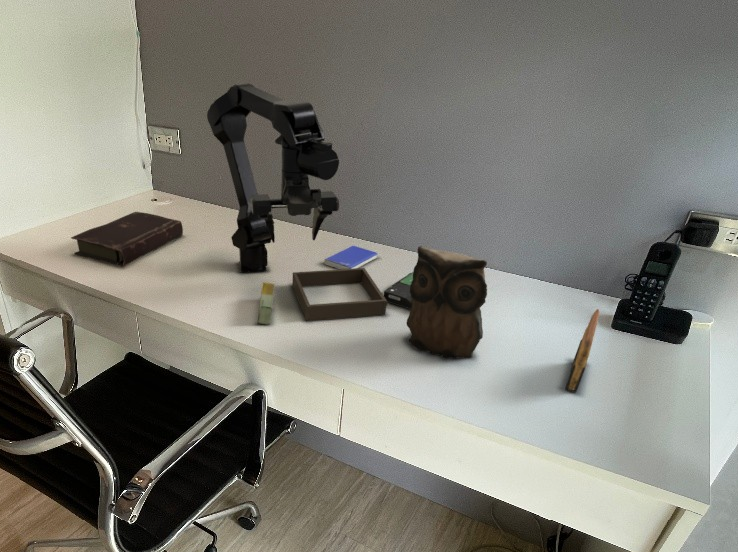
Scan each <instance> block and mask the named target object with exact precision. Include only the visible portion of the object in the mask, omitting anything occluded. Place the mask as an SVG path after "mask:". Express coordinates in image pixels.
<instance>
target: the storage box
mask: <svg viewBox="0 0 738 552" xmlns="http://www.w3.org/2000/svg"><path fill="white" fill-rule="evenodd" d="M291 281H292V283H291V285H292V288H293V291H294V293H295V296H296V298H297V301H298V303H299V305H300V308H301V310H302V314H303V316H304V318H305V320H306V322H309V321H310V322H311V321H324V320H338V319H351V318H364V317H378V316H386V313H387V312H386V311H387V306H388V305H387V304H388V301H387V300H386V299H385V297H384V293H383V292H382V291H381V290H380V288H379V287H378V285H377V284H376V283H375V281H374V279H373V278H372V276H370V274H369V272H368V271H367V270H366V268H365V267H359V268H355V269H326V270H325V269H324V270H311V271H294V272H292V280H291ZM345 284H346V285H347V284H361V285H362V287H363V288H364V289H365V291H366V293H367V294H368V296H369V298H370V299H369V300H356V301H343V302H342V301H341V302H332V303H331V302H327V303H316V304H315V303H314V304H310V302H309V299H308V296H307V294H306V292H305V290H304V288H303V287H315V286H331V285H345Z"/></svg>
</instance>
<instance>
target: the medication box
mask: <svg viewBox="0 0 738 552" xmlns="http://www.w3.org/2000/svg"><path fill="white" fill-rule="evenodd" d="M274 288H275V283H270V282H262V286H261V293H260V301H259V308H258V309H259V310H258V316H257V324H259V325H270V323H271V316H272V311H273V309H272V308H273V299H274V290H275V289H274Z"/></svg>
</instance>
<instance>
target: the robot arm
mask: <svg viewBox="0 0 738 552" xmlns="http://www.w3.org/2000/svg"><path fill="white" fill-rule="evenodd" d="M251 112H252V113H253V114H256V115H258V116H259V117H262V118H263V119H265V120H268V121H269V122H270V123H271V126H272V128H273V129H274V130H275V131H276V132H277V133H279V134H280V135H279V136H278V137H277V138H276V139H275V140H274V143H275V144H276V145H280V146H281V160H280V161H281V165H280V167H281V168H280V169H281V171H280V178H281V179H280V181H281V182H280V198H270V195H269V194H268V193H264V194H263V193H262V194H260V193H259V192H258V189H257V187H256V182H255V179H254V178H255V177H254V174H253V171H252V166H251V163H250V159H249V155H248V150H247V147H246V144H245V143H246V142H245V135H246V132H247V127H248V123H247V117H248V116H249V115H250V114H251ZM206 119H207V122H208V124H209V126H210V129H211V132H212V134H213V136H214V137H215V139H216V140H217V141H218V142H219V143H220V144H221V145H222V146H223V149H224V153H225V158H226V160H227V164H228V168H229V172H230V175H231V180H232V184H233V187H234V189H235V195H236V198H237V202H238V206H239V209H238V213H237V218H236V224H237V229H236V230H235V232H234V233H233V234H232V235H231V236H230V237H231V242H232V246H233V247H235V248H237V249H238V252H239V253H238V255H239V257H238V258H239V261H238V266H239V270H240V273H242V274H244V273H257V272H258V273H260V272H267V271H268V269H267V267H268V249H267V247H266V245H267V244H271V243H274V244H275V242H276V241H275V240H276V235H275V221H274V216H273V213H272V209H284V208H285V209H286V208H287V213H288V215H289V216H291V217H296V216H310V215H312V209H313V217H312V227H311V228H312V229H311V239H312V241H315V240H316V238H317V236H318V234H319V231H320V228H321V226H322V224H323V223H324V221H325V219H326V218H327V217H328V216H332V215H333V213H334V212H338V211H339V210H340V199H339V197H338V196H337V195H336V194H335V193H334V192H333V190H328V191H327V190H326V191H322V190H321V188H311V187H310V181H309V176H310V177H313V178H317V179H320V180H323V181H329V180H332V178H333V177H335V175H336V174H337V172H338V169H339V166H340V159H339V156H338V153H337V152H336V151H335V150H334V149H333V142H330V141H325V140H326V138H325V135H324V130H323V128H322V127H321V125H320V122H319V119H318V117H317V114H316V112H315V110H314V106H313V104H312V103H310V102H308V101H301V100H285V99H283V98H280V97H277V96H276V95H274V94H271V93H269V92H266V91H264V90H263V89H260V88H258V87H256V86H255V85H253V84H251V83H249V82H248V83H246V82H245V83H238V84H234V85H231V86H230V87H229V89H228V90H227V91H226V92H225V93H224V94H222V95H221V96H219V97H218V98H217V99H215V100H214V101H213V103H211V104H210V106H209V109H208V110H207V112H206ZM258 193H259V194H258Z"/></svg>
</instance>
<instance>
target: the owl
mask: <svg viewBox="0 0 738 552" xmlns="http://www.w3.org/2000/svg"><path fill="white" fill-rule="evenodd" d="M487 265H488V262H487V260H485V259H480V258H477V257H472V256H469V255H467V254H463V253H456V252H453V251H449V250H440V249H431V248H425V247H424V246H423V245H419V246H418V247H417V260H416V264H415V265H414V267H413V271H412V272H413V281H412V282H411V286H410V294H411V298H412V306H411V308H410V309H409V314H408V317H407V320H406V327H408V329H409V331H410V334H411V335H410V337H409V338H408V340H407V342H408V343H410V345H411V346H413V347H414V349H416V350H418V351H422V352H429V354H430V355H436V356H441V357H442V358H443V359H465V358H467V359H471V358H473V353H474V351H475V350H476V348H477V347H478V345H479V343H480V341H481V340H482V339H483V336H484V330H483V318H482V310H481V308H482V306H484V305H485V304H486V298H487V296H488V284H487V282H486V273H485V268H486V267H487Z"/></svg>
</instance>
